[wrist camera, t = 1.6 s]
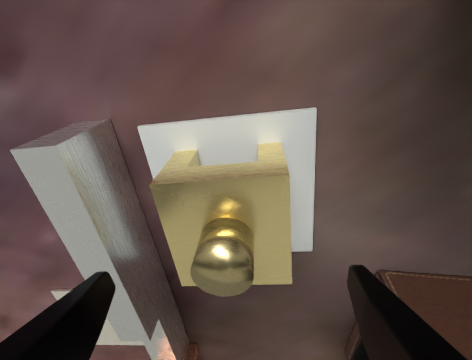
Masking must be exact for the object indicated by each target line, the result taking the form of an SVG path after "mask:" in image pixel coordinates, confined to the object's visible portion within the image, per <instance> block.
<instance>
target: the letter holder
mask: <svg viewBox="0 0 472 360" xmlns="http://www.w3.org/2000/svg"><path fill="white" fill-rule="evenodd" d="M375 276H376V277H377V278H378V279H379V280H380V281H381V282H382V283H383V284H384V285H386V286H387V287H388V288H389V289H390V290H391V291H392V292H393V293H394V294H396V295H397V296H398V297H399V298H400V299H401V300H402V301H403V302H404V303H406V304H407V305H408V306H409V307H410V308H411V309H412V310H413V311H414V312H416V313H417V314H418V315H419V316H420V317H421V318H422V319H423V320H424V321H426V322H427V323H428V324H429V325H430V326H431V327H432V328H433V329H434V330H436V331H437V332H438V333H439V334H440V335H441V336H442V337H443V338H444V339H446V340H447V341H448V342H449V343H450V344H451V345H452V346H453V347H454V348H456V349H457V350H458V351H459V352H460V353H461V354H462V355H463V356H464V357H466V358H467V359H468V360H472V277H467V276H453V275H439V274H427V273H412V272H399V271H386V270H378V271H377V273H376V275H375ZM345 354H346V357H347V360H370V359H369V357H368V354H367V352H366V349H365V346H364V344H363V341H362V338H361V335H360V332H359V328H358V324H357V321H356V323H355V326H354V329H353V331H352V333H351V336H350V338H349V341H348V343H347V346H346V348H345Z"/></svg>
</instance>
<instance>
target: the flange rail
mask: <svg viewBox="0 0 472 360" xmlns="http://www.w3.org/2000/svg"><path fill="white" fill-rule="evenodd" d="M10 151H11V153H12V155H13V156H14V158H15V160H16V162H17V163H18V165H19V167H20V169H21V170H22V172H23V174H24V175H25V177H26V179H27V181H28V182H29V184H30V186H31V188H32V189H33V191H34V193H35V194H36V196H37V198H38V200H39V201H40V203H41V205H42V207H43V208H44V210H45V212H46V213H47V215H48V217H49V219H50V220H51V222H52V224H53V226H54V227H55V229H56V231H57V233H58V234H59V236H60V238H61V239H62V241H63V243H64V245H65V246H66V248H67V250H68V252H69V253H70V255H71V257H72V258H73V260H74V262H75V264H76V265H77V267H78V269H79V271H80V272H81V274H82V276H83V277H84V279H85V280H86V279H87V278H89V277H90V276H91V275H93V274H94V273H96V272H99V271H107V272H109V274H110V276H111V278H112V279H113V281H114V283H115V286H116V290H115V294H114V297H113V300H112V303H111V306H110V308H109V311H108V314H107V317H106V320H105V323H104V326H103V329H102V331H101V334H100V336H99V339H98V341H97V343H96V345H145V347H146V349H147V351H148V353H149V355H150V357H151V359H152V360H197V359H198V353H199V350H198V347H197V344H196V343H190V342H189V339H188V336H187V333H186V331H185V328H184V325H183V322H182V319H181V317H180V314H179V311H178V308H177V305H176V303H175V300H174V297H173V294H172V291H171V289H170V286H169V283H168V280H167V277H166V275H165V272H164V269H163V266H162V263H161V261H160V258H159V255H158V252H157V249H156V247H155V244H154V241H153V238H152V235H151V233H150V230H149V227H148V224H147V221H146V219H145V216H144V213H143V210H142V207H141V205H140V202H139V199H138V196H137V193H136V191H135V188H134V185H133V182H132V179H131V177H130V174H129V171H128V168H127V165H126V163H125V160H124V157H123V154H122V151H121V149H120V146H119V143H118V140H117V137H116V135H115V132H114V129H113V126H112V123H111V121H110V119H105V120H95V121H86V122H77V123H73V124H71V125H68V126H66V127H64V128H61V129H59V130H57V131H54V132H52V133H49V134H47V135H45V136H42V137H40V138H37V139H35V140H33V141H30V142H28V143H25V144H23V145H21V146H18V147H16V148H13V149H11V150H10ZM71 290H73V289H53V290H52V291H51V292H52V294H53V295H54V297H55V298H56V300H57V301H58V300H59V299H60V298H62V297H63V296H64V295H66V294H67V293H68V292H70V291H71Z"/></svg>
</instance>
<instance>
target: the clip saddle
mask: <svg viewBox="0 0 472 360" xmlns="http://www.w3.org/2000/svg"><path fill="white" fill-rule="evenodd" d="M149 186H150V189H151V192H152V195H153V199H154V202H155V205H156V208H157V211H158V214H159V217H160V220H161V223H162V226H163V229H164V233H165V236H166V239H167V242H168V245H169V248H170V251H171V254H172V257H173V260H174V263H175V267H176V270H177V273H178V276H179V279H180V282H181V285H182V286H198V287H199V288H200V289H201V290H203V291H205V292H207V293H209V294H212V295H216V296H223V297H228V296H235V295H238V294H241V293H243V292H245V291H246V290H247V289H248V288H249V287H250V286H251V285H269V284H292V255H291V211H290V174H289V170H288V166H287V162H286V159H285V155H284V151H283V147H282V143H281V142H276V143H265V144H258V162H245V163H233V164H220V165H208V166H201V165H200V160H199V155H198V150H185V151H175V153H174V154H173V155H172V157H171V158H170V159H169V160H168V162H167V163H166V164H165V166H164V167H163V168H162V169H161V171H160V172H159V173H158V175H157V176H156V177H155V178H154V180H153V181H152V182H151V184H150V185H149Z"/></svg>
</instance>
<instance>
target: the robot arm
mask: <svg viewBox="0 0 472 360" xmlns="http://www.w3.org/2000/svg"><path fill="white" fill-rule="evenodd" d="M347 285H348V290H349V294H350V298H351V302H352V305H353V309H354V313H355V317H356V321H357V324H358V328H359V332H360V335H361V338H362V341H363V344H364V346H365V349H366V352H367V354H368V357H369V359H370V360H468V359H467V358H466V357H464V356H463V355H462V354H461V353H460V352H459V351H458V350H457V349H456V348H454V347H453V346H452V345H451V344H450V343H449V342H448V341H447V340H446V339H444V338H443V337H442V336H441V335H440V334H439V333H438V332H437V331H436V330H434V329H433V328H432V327H431V326H430V325H429V324H428V323H427V322H426V321H424V320H423V319H422V318H421V317H420V316H419V315H418V314H417V313H416V312H414V311H413V310H412V309H411V308H410V307H409V306H408V305H407V304H406V303H404V302H403V301H402V300H401V299H400V298H399V297H398V296H397V295H396V294H394V293H393V292H392V291H391V290H390V289H389V288H388V287H387V286H386V285H384V284H383V283H382V282H381V281H380V280H379V279H378V278H377V277H376V276H374V275H373V274H372V273H371V272H370V271H369V270H368V269H367V268H366V267H364V266H363V265H350V267H349V271H348V279H347ZM115 290H116V286H115V283H114V281H113V279H112V278H111V276H110V274H109V272H107V271H99V272H96V273H94V274H93V275H91V276H90V277H89V278H87V279H86V280H85V281H83V282H82V283H81V284H79V285H78V286H77V287H75V288H74V289H73V290H71V291H70V292H68V293H67V294H66V295H64V296H63V297H62V298H60V299H59V300H58V301H56V302H55V303H54V304H52V305H51V306H50V307H48V308H47V309H45V310H44V311H43V312H41V313H40V314H39V315H37V316H36V317H35V318H33V319H32V320H31V321H29V322H28V323H26V324H25V325H24V326H22V327H21V328H20V329H18V330H17V331H16V332H14V333H13V334H12V335H10V336H9V337H8V338H6V339H5V340H3V341H2V342H1V343H0V360H89V359H90V357H91V354H92V352H93V350H94V348H95V345H96V343H97V341H98V339H99V336H100V334H101V331H102V329H103V326H104V323H105V320H106V317H107V314H108V311H109V308H110V306H111V303H112V300H113V297H114V294H115Z"/></svg>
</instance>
